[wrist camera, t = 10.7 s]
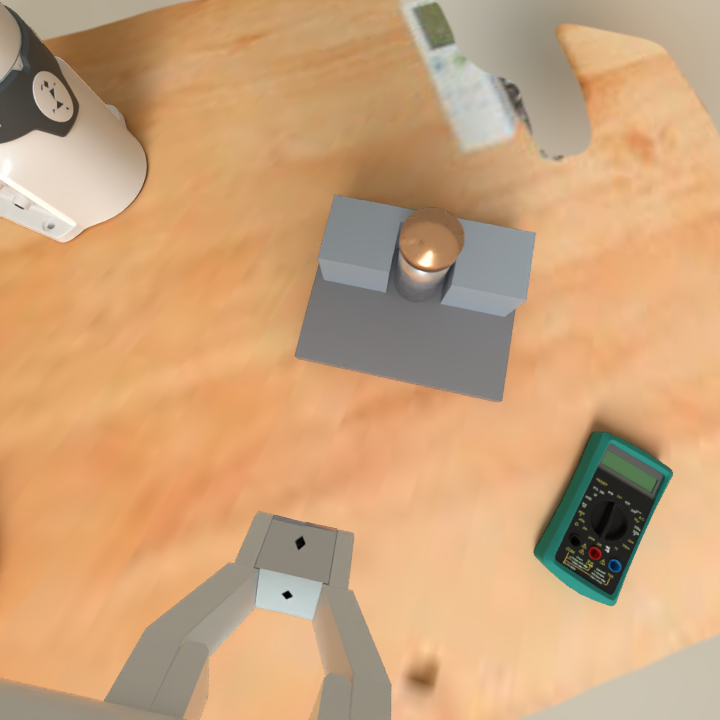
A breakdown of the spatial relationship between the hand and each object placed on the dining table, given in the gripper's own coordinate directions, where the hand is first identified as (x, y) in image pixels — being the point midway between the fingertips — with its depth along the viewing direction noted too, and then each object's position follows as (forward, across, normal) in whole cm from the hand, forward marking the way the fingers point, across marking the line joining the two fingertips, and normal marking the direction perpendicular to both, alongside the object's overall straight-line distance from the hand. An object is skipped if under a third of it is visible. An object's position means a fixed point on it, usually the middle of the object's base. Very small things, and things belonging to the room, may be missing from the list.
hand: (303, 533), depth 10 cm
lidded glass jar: (+31, -5, -2) cm, 31 cm away
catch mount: (+30, -5, +2) cm, 31 cm away
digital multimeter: (+20, -27, +14) cm, 37 cm away
